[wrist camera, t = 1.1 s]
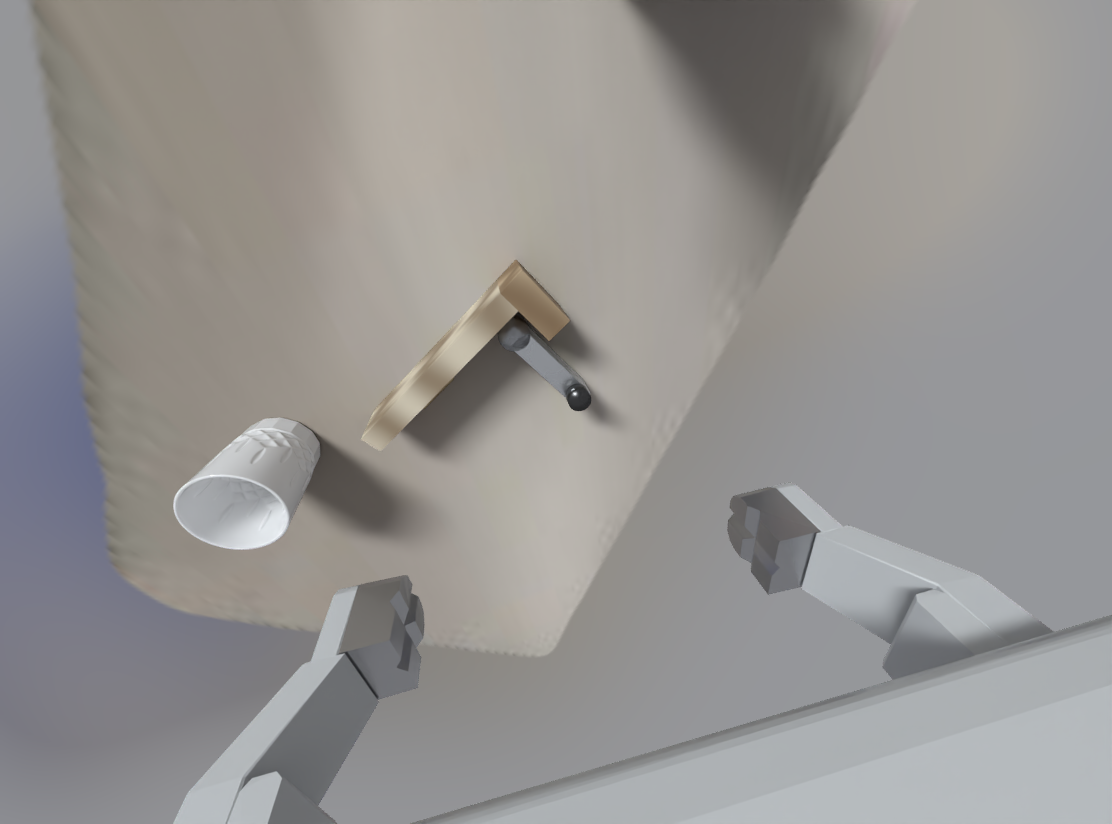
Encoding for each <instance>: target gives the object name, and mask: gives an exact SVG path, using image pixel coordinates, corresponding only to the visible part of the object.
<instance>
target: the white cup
mask: <svg viewBox="0 0 1112 824" xmlns="http://www.w3.org/2000/svg"><path fill="white" fill-rule="evenodd" d="M319 457H320V443H319V441H318V440H317V438H316V436H315V435H314V433H313V432H312V431H311V430H310V429H308V428H307V427H305V426H304V425H302V424H301V423H299V422H297V421H293V420H289V419H285V418H268V419H263V420H261V421H259V422H257V423H255V424H254V425H252V426H250V427H249V428H248V429H247V430H246V431H245V432H244V433H243V434H242V435H240V436H239V437H238V438H236V439H235V440H234V441H233V442H231V443H230V444H229V445H228V446H227V447H226V448H225V449H223V450H222V451H221V452H220V453H219V454H217V455H216V456H215V457H214V458H213V459H212V460H211V461H210V462H209V463H208V464H207V465H206V466H205V467H203V468H202V469H201V470H200V471H199V472H198V473H197V474H196V475H195V476H194V477H193V478H192V479H190V480H189V481H188V482H187V483H186V484H185V485H184V486H183V487H182V488H181V489H180V490H179V491H178V492H177V494H176V496H175V499H174V504H173V507H174V513H175V516H176V518H177V520H178V521H179V523H180V524H181V525H182V526H183V528H184V529H185V530H187V531H188V532H189V533H190V534H192V535H193V536H195V537H196V538H198V539H200V540H202V541H204V542H206V543H209V544H211V545H214V546H218V547H222V548H227V549H237V550H246V549H255V548H260V547H264V546H267V545H269V544H271V543H273V542H275V541H277V540H278V539H279V538H281V537H282V536H283V535H284V533H285V532H286V530H287V529H288V527H289V524H290V522H291V520H292V518H293V516H294V514H295V512H296V510H297V508H298V506H299V504H300V501H301V499H302V497H303V495H304V493H305V491H306V488H307V486H308V484H309V481H310V479H311V477H312V473H313V470H314V468H315V466H316V464H317V462H318V460H319Z"/></svg>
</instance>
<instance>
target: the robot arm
mask: <svg viewBox="0 0 1112 824" xmlns="http://www.w3.org/2000/svg"><path fill="white" fill-rule="evenodd" d="M730 509H731V510H732V511H733V512H734V514H733V515H732V516H731V518H730V519H729V520H728V534H729V538H730V541H731V543H732V545H733V547H734V549H735V551H736V552H737V553H738V555H739V556H740V557H741V558H743V559H745V560H747V561H749V562H751V572H752V574H753V575H754V576H755V577H756V579H757V580H758V582H759V583H760V584H761V586H762V587H763V588H764V590H765V591H766V592H767V594H772V593H777V592H781V591H785V590H790V589H794V588H798V587H802V589H803V590H804V591H806V592H808V593H809V594H811V595H812V596H814V597H816V598H817V599H819V600H820V601H822V602H824V603H825V604H827V605H828V606H830V607H832V608H833V609H835V610H837V611H838V612H840V613H841V614H843V615H845V616H846V617H848V618H849V619H851V620H853V621H854V622H856V623H858V624H859V625H861V626H862V627H864V628H865V629H867V630H869V631H870V632H872V633H873V634H875V635H877V636H878V637H880V638H881V639H883V640H885V641H886V642H888V643H889V644H891V645H890V647H889V650H888V652H887V654H886V656H885V657H884V660H883V669H884V670H885V671H886V672H887V673H888V674H889V676H890V677H891V678H892V679H893V680H891V681H888V682H884V683H881V684H877V685H874V686H871V687H867V688H864V689H861V690H857V691H854V692H851V693H847V694H844V695H841V696H837V697H834V698H830V699H827V700H824V701H820V702H817V703H814V704H811V705H807V706H803V707H800V708H797V709H793V710H790V711H787V712H783V713H780V714H777V715H773V716H770V717H766V718H763V719H760V720H756V721H753V722H750V723H747V724H743V725H740V726H736V727H733V728H730V729H726V730H723V731H720V732H716V733H713V734H709V735H706V736H703V737H699V738H696V739H693V740H689V741H686V742H682V743H679V744H676V745H673V746H669V747H666V748H662V749H659V750H656V751H652V752H649V753H645V754H643V755H639V756H635V757H632V758H629V759H625V760H622V761H619V762H615V763H612V764H608V765H605V766H602V767H599V768H595V769H592V770H588V771H585V772H582V773H578V774H575V775H571V776H568V777H565V778H562V779H558V780H555V781H551V782H548V783H545V784H541V785H538V786H535V787H531V788H528V789H525V790H521V791H518V792H514V793H511V794H508V795H505V796H501V797H498V798H494V799H491V800H488V801H484V802H481V803H478V804H474V805H471V806H467V807H464V808H461V809H458V810H454V811H451V812H447V813H444V814H441V815H437V816H434V817H431V818H427V819H424V820H420V821H417V822H414V823H410V824H1112V615H1110V616H1106V617H1103V618H1100V619H1096V620H1093V621H1089V622H1086V623H1083V624H1079V625H1076V626H1073V627H1069V628H1066V629H1062V630H1059V631H1056V632H1054V631H1052V630H1051V629H1050V628H1048V627H1047V626H1046V625H1044V624H1043V623H1042V622H1040V621H1039V620H1038V619H1036V618H1035V617H1034V616H1032V615H1031V614H1030V613H1028V612H1027V611H1026V610H1024V609H1023V608H1022V607H1020V606H1019V605H1018V604H1016V603H1015V602H1014V601H1012V600H1011V599H1010V598H1008V597H1007V596H1006V595H1004V594H1003V593H1002V592H1000V591H999V590H998V589H996V588H995V587H994V586H992V585H991V584H990V583H989V582H987V581H986V580H985V579H983V578H982V577H981V576H979V575H977V574H974V573H972V572H969V571H966V570H964V569H961V568H959V567H956V566H953V565H951V564H948V563H946V562H943V561H940V560H938V559H935V558H932V557H930V556H927V555H924V554H922V553H920V552H917V551H914V550H911V549H909V548H907V547H904V546H901V545H899V544H896V543H893V542H891V541H888V540H885V539H883V538H881V537H878V536H875V535H873V534H870V533H867V532H865V531H862V530H860V529H857V528H854V527H852V526H849V525H848V526H844V527H843V526H842V525H840V524H839V523H838V522H837V521H836V520H835V519H834V518H833V517H832V516H830V515H829V514H828V513H827V512H826V511H825V510H824V509H823V508H821V507H820V506H819V505H818V504H817V503H816V502H815V501H814V500H812V499H811V498H810V497H809V496H808V495H807V494H806V493H805V492H803V491H802V490H801V489H800V488H799V487H798V486H797V485H795V484H793V483H791V482H788V483H784V484H780V485H776V486H772V487H767V488H763V489H759V490H755V491H751V492H747V493H743V494H739V495H735V496H733V497H732V499H731V501H730ZM411 590H412V583H411V581H410V579H409V577H408V575H403V576H398V577H393V578H389V579H384V580H379V581H375V582H370V583H365V584H361V585H357V586H353V587H348V588H344V589H339V590H338V591H337V592H336V594H335V595H334V596H333V599H332V602H331V605H330V607H329V610H328V613H327V616H326V619H325V622H324V625H323V628H322V630H321V633H320V636H319V639H318V642H317V645H316V648H315V651H314V653H313V657H312V659H311V662H308V663H305V664H303V665H302V666H301V667H300V668H299V669H298V670H297V672H296V673H295V674H294V675H293V676H292V677H291V678H290V679H289V680H288V682H287V683H286V684H285V685H284V686H283V687H282V688H281V689H280V690H279V692H278V693H277V694H276V695H275V696H274V697H273V698H272V699H271V701H270V702H269V703H268V704H267V705H266V706H265V707H264V708H263V710H262V711H261V712H260V713H259V714H258V715H257V716H256V717H255V718H254V720H253V721H252V722H251V723H250V724H249V725H248V726H247V727H246V729H245V730H244V731H243V732H242V733H241V734H240V735H239V736H238V738H237V739H236V740H235V741H234V742H233V743H232V744H231V745H230V746H229V748H228V749H227V750H226V751H225V752H224V753H223V754H222V755H221V756H220V758H219V759H218V760H217V761H216V762H215V763H214V764H213V765H212V767H211V768H210V769H209V770H208V771H207V772H206V773H205V774H204V776H203V777H202V778H201V779H200V780H199V781H198V782H197V783H196V785H195V786H194V787H193V788H192V789H191V790H190V791H189V792H188V794H187V796H186V798H185V800H184V802H183V804H182V806H181V808H180V811H179V812H178V815H177V817H176V819H175V821H174V823H173V824H337V823H336V822H335V820H334V819H333V818H331V817H330V816H329V815H328V814H327V813H325V812H324V811H323V810H322V809H321V808H320V807H318V805H319V803H320V802H321V800H322V798H323V797H324V795H325V793H326V791H327V790H328V788H329V786H330V785H331V783H332V781H333V779H334V778H335V776H336V774H337V773H338V771H339V769H340V768H341V765H342V764H343V762H344V761H345V759H346V757H347V756H348V754H349V752H350V750H351V749H352V747H353V745H354V744H355V742H356V740H357V738H358V737H359V735H360V733H361V732H362V730H363V728H364V727H365V725H366V723H367V721H368V720H369V718H370V716H371V715H372V713H373V711H374V709H375V708H376V706H377V704H378V702H379V701H378V700H379V699H382V698H385V697H389V696H392V695H395V694H399V693H402V692H406V691H409V690H412V689H416V688H418V681H419V671H420V663H421V656H420V654H419V652H418V650H417V648H416V647H417V646H418V645H419V643H420V642H421V640H422V639H423V636H424V612H423V608H422V604H421V602H420V599H419V597H418V596H416V595H414V594H412V593H411Z"/></svg>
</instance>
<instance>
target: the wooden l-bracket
mask: <svg viewBox="0 0 1112 824" xmlns="http://www.w3.org/2000/svg"><path fill="white" fill-rule="evenodd" d="M518 311H519V312H520V313H521V314H522V315H523V316H524V317H525V318H526V319H527V320H528V321H529V322H530V323H531V324H532V325H533V326H534V327H535V328H536V329H537V330H538V331H539V332H540V333H541V334H542V335H543V336H544V337H545V338H546V339H547V340H548V341H550V340H551V339H552V338H553V337H554V336H555V335H556V334H557V333H558V332H559V331H560V330H561V329H562V328H563V327H564V326H565V325H566V324H567V323H568V322H569V321H570V319H569V318H568V317H567V315H566V314H565V312H564V311H563V310H562V308H561V307H560V306H559V304H558V303H557V302H556V301H555V300H554V299H553V298H552V297H551V296H550V295H549V294H548V293H547V292H546V291H545V289H544V288H543V287H542V286H541V285H540V284H539V283H538V282H537V281H536V280H535V279H534V278H533V277H532V276H531V275H530V274H529V273H528V272H527V270H526V269H525V268H524V267H523V266H522V265H521V264H520V263H519V262H518V261H517V260H515V261H514V262H513V263H512V264H511V265H510V266H509V267H508V269H507V270H506V271H505V272H504V273H503V274H502V275H501V276H500V277H499V278H498V279H497V280H496V281H495V282H494V283H493V284H492V286H491V287H490V288H489V289H488V290H487V291H486V292H485V293H484V294H483V295H482V296H481V297H480V298H479V299H478V300H477V301H476V302H475V304H474V305H473V306H472V307H471V308H470V309H469V310H468V311H467V312H466V313H465V314H464V315H463V316H462V317H461V318H460V319H459V321H458V322H457V323H456V324H455V325H454V326H453V327H452V328H451V329H450V330H449V331H448V332H447V333H446V334H445V335H444V336H443V338H442V339H441V340H440V341H439V342H438V343H437V344H436V345H435V346H434V347H433V348H432V349H431V350H430V351H429V352H428V353H427V355H426V356H425V357H424V358H423V359H422V360H421V361H420V362H419V363H418V364H417V365H416V366H415V367H414V368H413V369H412V370H411V372H410V373H409V374H408V375H407V376H406V377H405V378H404V379H403V380H402V381H401V382H400V383H399V384H398V385H397V386H396V387H395V389H394V390H393V391H392V392H391V393H390V394H389V395H388V396H387V397H386V398H385V399H384V400H383V401H382V402H381V403H380V404H379V406H378V407H377V408H376V409H375V410H374V412H373V414H372V416H371V418H370V421H369V423H368V425H367V427H366V429H365V432H364V434H363V436H362V438H361V440H362V441H364V442H366V443H367V444H369V445H371V446H372V447H374V448H376V449H377V450H379V451H380V452H381V451H382V450H383V449H384V448H385V447H386V446H387V444H388V443H389V442H390V441H391V440H392V439H393V438H394V437H395V436H396V435H397V434H398V433H399V432H400V431H401V430H402V429H403V428H404V427H405V426H406V425H407V424H408V423H409V422H410V421H411V420H412V419H413V418H414V417H415V416H416V415H417V414H418V413H419V412H420V411H421V410H422V409H425V408H426V407H427V406H428V405H429V404H430V403H431V402H432V401H433V400H434V399H435V398H436V397H437V396H438V395H439V394H440V393H441V392H442V391H443V390H444V389H445V388H446V387H447V386H448V385H449V384H450V383H451V382H452V381H453V380H454V376H455V375H456V374H457V373H458V372H459V371H460V370H461V369H462V368H463V367H464V366H465V365H466V364H467V363H468V362H469V361H470V360H471V359H472V358H473V357H474V356H475V355H476V354H477V353H478V352H479V351H480V350H481V349H482V348H483V347H484V346H485V345H486V344H487V343H488V342H489V341H490V339H491V338H492V337H493V336H494V335H495V334H496V333H497V332H498V331H499V330H500V329H501V328H502V327H503V326H504V325H505V324H506V323H507V322H508V321H509V320H510V319H511V318H512V317H513V316H514V315H515V314H516V313H517V312H518Z"/></svg>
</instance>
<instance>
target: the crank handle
mask: <svg viewBox="0 0 1112 824" xmlns="http://www.w3.org/2000/svg"><path fill="white" fill-rule="evenodd" d="M498 337H499V341H500V344H501V345H502V346H503V347H504V348H505V349H507V350H509V351H515V352H516V353H517V354H518V355H519V356H520V357H521V358H522V359H524V360H525V361H526V362H527V363H528V364H529V365H530V366H531V367H532V368H534V369H535V370H536V371H537V372H538V373H539V374H540V375H541V376H542V377H543V378H545V379H546V380H547V381H548V382H549V383H550V384H551V385H552V386H553V387H555V388H556V389H557V390H558V391H559V392H560V393H561V394H562V395H563V396H564V397H566V399H567V401H568V404H569V406H570V407H571V409H573V410H575V411H582V410H585V409H586V408H588V407H589V405H590V403H591V396H590V391H589V390H588V388H587V386H586V384H585V383H584V381H583V379H582V378H581V377H580V376H579V375H578V374H577V373H576V372H575V371H574V370H573V369H572V368H571V367H570V366H569V365H568V364H567V363H566V362H565V361H564V360H563V359H562V358H560V357H559V356H558V355H557V354H556V353H555V352H554V351H553V350H552V349H551V348H550V347H549V346H548V345H547V344H546V343H545V342H544V341H543V340H542V339H541V338H540V337H539V336H538V335H537V334H536V333H535V332H534V331H533V330H531V329H530V328H529V327H528V326H527V323H526V320H525V318H524V316H523V315H522V314H521V313H520V312H517V313H516V314H515V315H514V316H513V317H512V318H511V319H510V320H509V321H508V322H507V323H506V324H505V325H504V326H503V327H502V328H501V329H500V330H499V331H498Z"/></svg>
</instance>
